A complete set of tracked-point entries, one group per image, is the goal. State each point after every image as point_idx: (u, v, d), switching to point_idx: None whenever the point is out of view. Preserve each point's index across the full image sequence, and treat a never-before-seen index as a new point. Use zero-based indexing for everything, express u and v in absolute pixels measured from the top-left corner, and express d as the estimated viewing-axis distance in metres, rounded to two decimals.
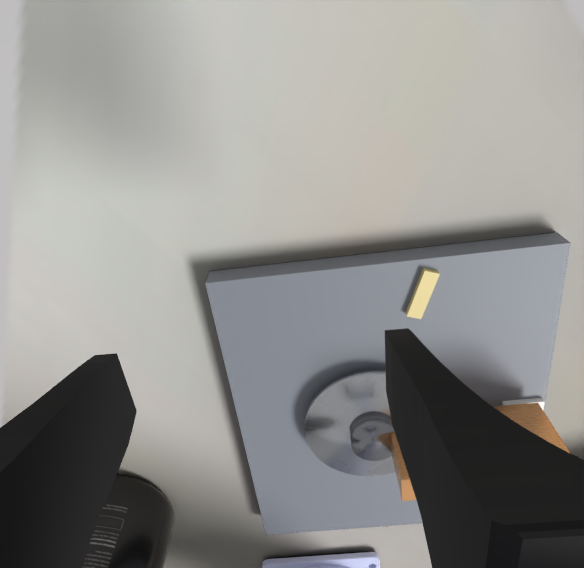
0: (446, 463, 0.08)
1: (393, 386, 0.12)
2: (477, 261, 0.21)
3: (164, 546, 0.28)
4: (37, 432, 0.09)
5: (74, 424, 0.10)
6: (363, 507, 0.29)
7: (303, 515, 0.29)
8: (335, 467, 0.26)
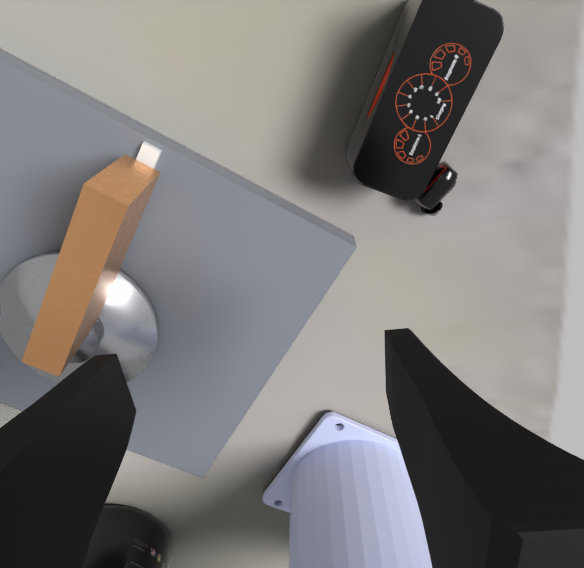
0: (446, 462, 0.08)
1: (393, 386, 0.12)
2: None
3: (126, 549, 0.27)
4: (37, 432, 0.09)
5: (74, 424, 0.10)
6: (218, 389, 0.24)
7: (195, 439, 0.25)
8: None
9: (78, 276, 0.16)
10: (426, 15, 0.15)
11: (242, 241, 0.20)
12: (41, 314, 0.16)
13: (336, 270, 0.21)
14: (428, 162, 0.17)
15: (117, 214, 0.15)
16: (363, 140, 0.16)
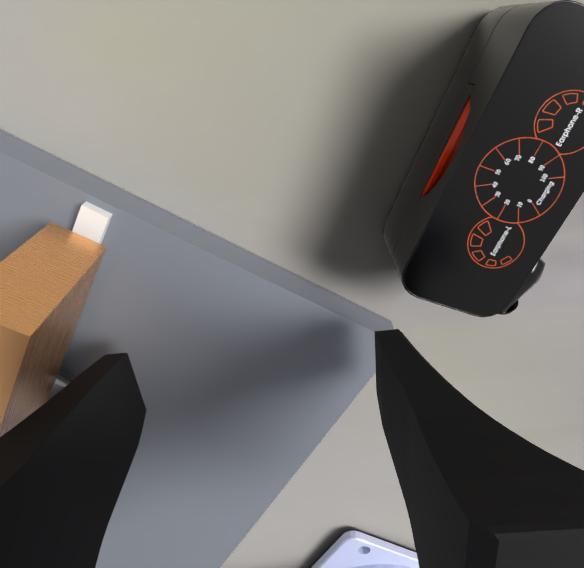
0: (429, 464, 0.08)
1: (382, 387, 0.12)
2: None
3: None
4: (51, 431, 0.09)
5: (87, 423, 0.10)
6: (204, 513, 0.18)
7: None
8: None
9: None
10: (535, 46, 0.09)
11: (235, 336, 0.14)
12: None
13: (368, 373, 0.15)
14: (519, 265, 0.11)
15: (12, 350, 0.09)
16: (420, 235, 0.11)
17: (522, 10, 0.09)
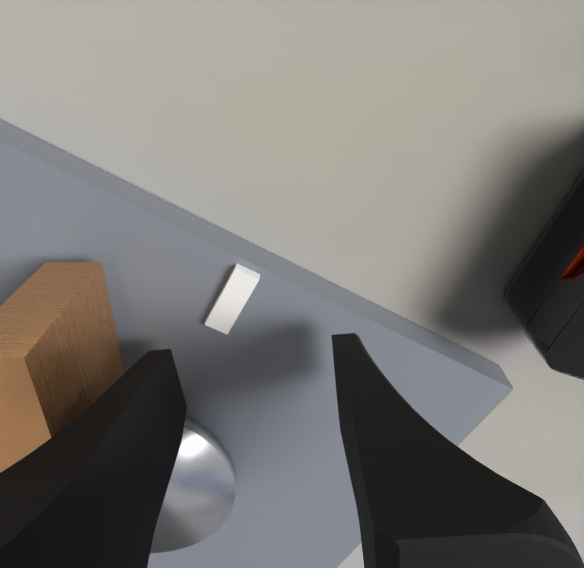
0: (360, 469, 0.08)
1: (337, 390, 0.12)
2: None
3: None
4: (110, 426, 0.09)
5: (139, 419, 0.10)
6: (304, 543, 0.18)
7: None
8: (212, 529, 0.17)
9: None
10: None
11: None
12: None
13: (481, 416, 0.15)
14: None
15: (19, 377, 0.09)
16: (569, 318, 0.11)
17: None
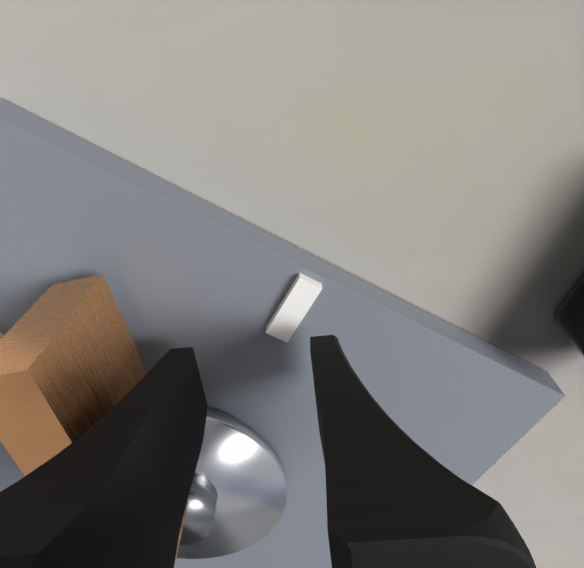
0: None
1: (315, 392, 0.12)
2: None
3: None
4: (139, 424, 0.09)
5: (165, 417, 0.10)
6: None
7: None
8: (272, 524, 0.17)
9: None
10: None
11: (412, 390, 0.15)
12: None
13: (531, 422, 0.15)
14: None
15: (29, 389, 0.09)
16: None
17: None
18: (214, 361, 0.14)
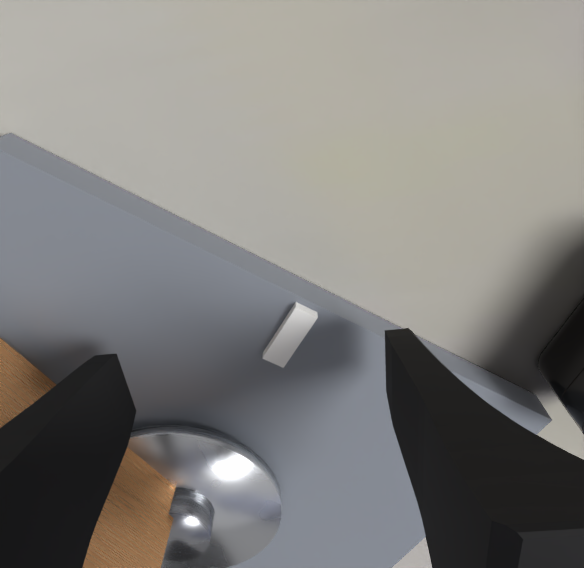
0: (446, 463, 0.08)
1: (393, 386, 0.12)
2: None
3: None
4: (37, 432, 0.09)
5: (74, 424, 0.10)
6: (341, 563, 0.19)
7: None
8: (277, 516, 0.17)
9: None
10: None
11: None
12: None
13: None
14: None
15: None
16: None
17: None
18: (212, 384, 0.15)
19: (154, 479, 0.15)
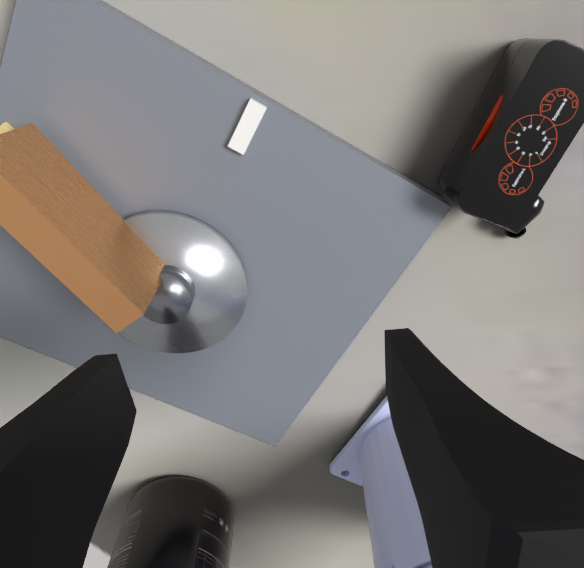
0: (446, 462, 0.08)
1: (393, 386, 0.12)
2: (9, 77, 0.18)
3: (197, 518, 0.27)
4: (37, 432, 0.09)
5: (74, 424, 0.10)
6: (299, 354, 0.24)
7: (271, 406, 0.25)
8: (243, 293, 0.21)
9: (37, 232, 0.16)
10: (541, 63, 0.16)
11: (338, 201, 0.20)
12: (69, 286, 0.17)
13: (429, 231, 0.21)
14: (528, 193, 0.18)
15: None
16: (471, 173, 0.18)
17: (534, 43, 0.16)
18: (191, 174, 0.20)
19: (148, 252, 0.20)
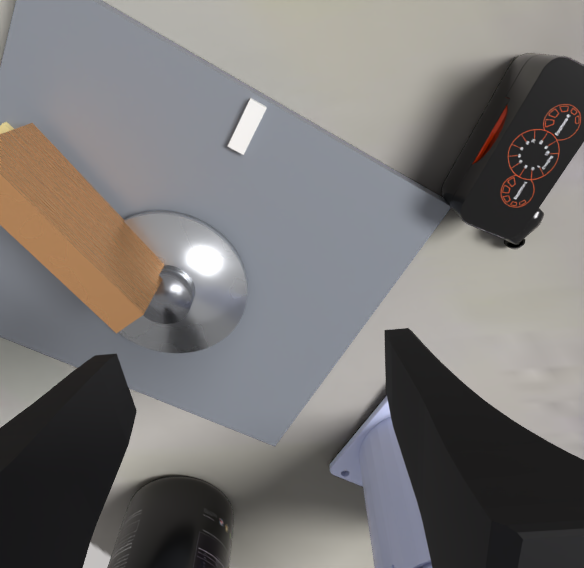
0: (446, 462, 0.08)
1: (393, 386, 0.12)
2: (9, 77, 0.18)
3: (197, 518, 0.27)
4: (37, 432, 0.09)
5: (74, 424, 0.10)
6: (299, 354, 0.24)
7: (271, 406, 0.25)
8: (243, 293, 0.21)
9: (37, 232, 0.16)
10: (546, 79, 0.16)
11: (338, 201, 0.20)
12: (69, 286, 0.17)
13: (429, 231, 0.21)
14: (529, 206, 0.18)
15: None
16: (473, 184, 0.18)
17: (540, 59, 0.17)
18: (191, 174, 0.20)
19: (148, 252, 0.20)
